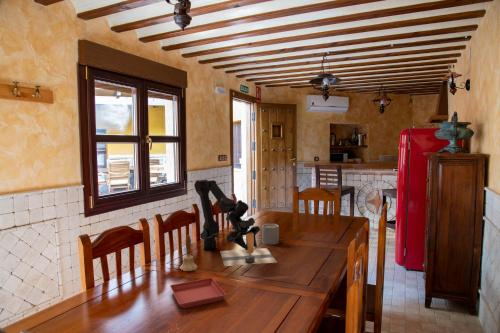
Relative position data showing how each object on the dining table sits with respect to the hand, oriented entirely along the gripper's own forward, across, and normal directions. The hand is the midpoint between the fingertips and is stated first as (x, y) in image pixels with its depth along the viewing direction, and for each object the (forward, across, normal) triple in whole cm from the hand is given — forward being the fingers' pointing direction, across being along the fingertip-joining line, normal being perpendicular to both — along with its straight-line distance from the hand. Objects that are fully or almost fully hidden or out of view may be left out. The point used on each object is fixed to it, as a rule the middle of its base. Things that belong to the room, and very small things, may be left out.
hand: (251, 248), depth 171 cm
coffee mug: (-8, +35, +20) cm, 41 cm away
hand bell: (-7, -25, +18) cm, 32 cm away
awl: (+4, 0, +6) cm, 7 cm away
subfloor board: (0, +4, +12) cm, 12 cm away
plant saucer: (+14, -40, -2) cm, 42 cm away
